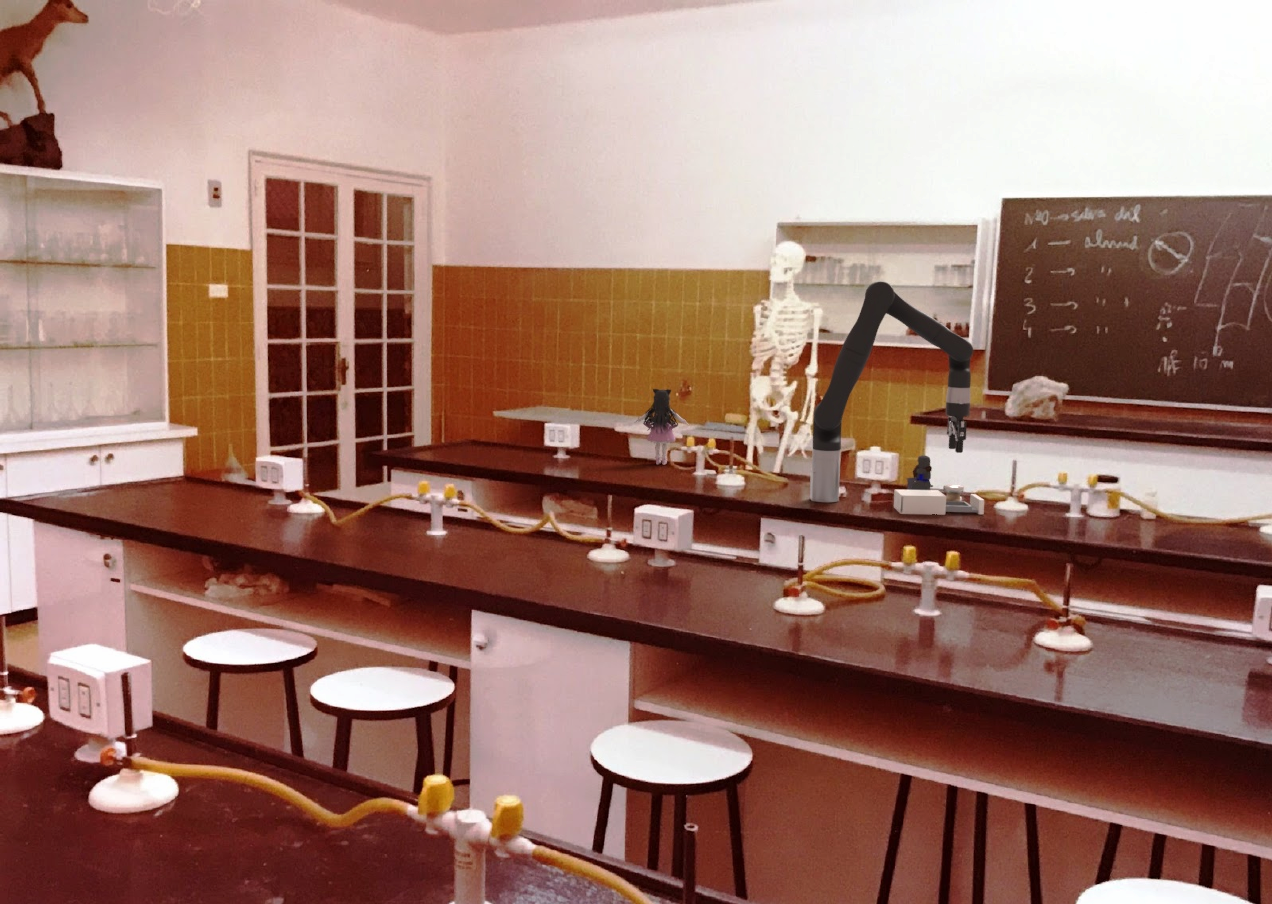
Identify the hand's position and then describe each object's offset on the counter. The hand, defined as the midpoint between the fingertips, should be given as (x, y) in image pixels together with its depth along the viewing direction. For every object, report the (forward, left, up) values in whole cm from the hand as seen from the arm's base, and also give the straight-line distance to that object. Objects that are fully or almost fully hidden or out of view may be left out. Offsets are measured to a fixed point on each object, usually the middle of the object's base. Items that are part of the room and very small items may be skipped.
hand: (955, 450), depth 371 cm
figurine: (-96, +79, -19) cm, 126 cm away
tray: (-2, -10, -18) cm, 21 cm away
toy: (-9, +12, -19) cm, 24 cm away
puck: (0, 0, -13) cm, 13 cm away
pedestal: (0, 0, -18) cm, 18 cm away
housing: (-13, -10, -18) cm, 25 cm away
